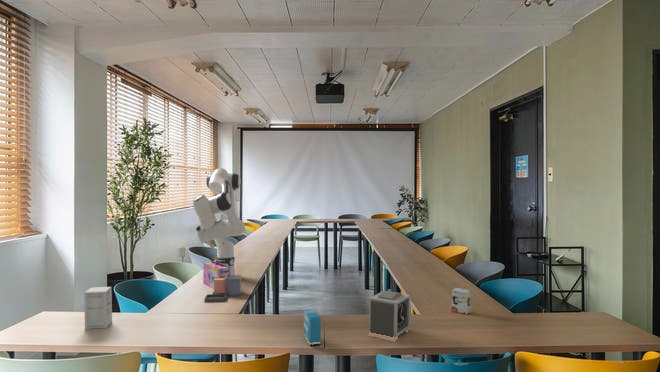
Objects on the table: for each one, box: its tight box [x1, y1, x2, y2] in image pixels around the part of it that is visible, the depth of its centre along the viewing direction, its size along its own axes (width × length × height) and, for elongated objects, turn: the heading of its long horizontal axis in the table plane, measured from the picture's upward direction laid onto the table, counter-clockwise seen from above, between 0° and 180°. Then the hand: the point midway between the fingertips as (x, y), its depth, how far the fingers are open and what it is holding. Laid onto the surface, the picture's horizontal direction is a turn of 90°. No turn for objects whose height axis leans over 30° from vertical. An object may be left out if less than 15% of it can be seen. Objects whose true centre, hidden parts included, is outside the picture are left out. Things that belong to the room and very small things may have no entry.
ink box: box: [451, 287, 472, 312], centre depth 238 cm, size 9×5×12 cm, turn 47°
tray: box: [204, 293, 227, 303], centre depth 257 cm, size 11×9×2 cm
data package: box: [303, 309, 322, 343], centre depth 195 cm, size 12×4×12 cm, turn 16°
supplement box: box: [83, 286, 113, 330], centre depth 212 cm, size 10×9×17 cm
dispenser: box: [212, 274, 242, 297], centre depth 269 cm, size 16×10×10 cm, turn 98°
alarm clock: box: [368, 290, 411, 337], centre depth 206 cm, size 18×13×18 cm
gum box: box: [202, 261, 230, 291], centre depth 288 cm, size 24×8×14 cm, turn 40°
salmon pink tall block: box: [213, 278, 226, 294], centre depth 268 cm, size 6×3×9 cm, turn 98°
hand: (219, 246), depth 258 cm, fingers open, 8 cm apart
